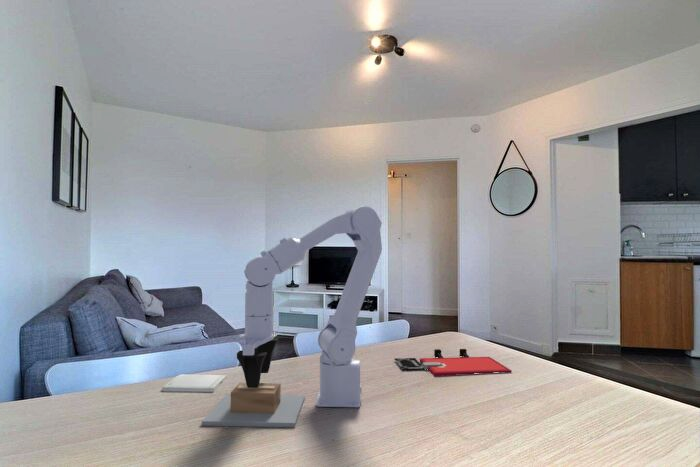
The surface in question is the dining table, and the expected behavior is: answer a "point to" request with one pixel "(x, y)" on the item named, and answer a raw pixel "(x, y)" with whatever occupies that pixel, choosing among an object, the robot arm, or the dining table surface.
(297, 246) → the robot arm
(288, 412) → the rubber mat
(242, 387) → the taped cardboard box
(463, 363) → the red board with handle
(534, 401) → the dining table surface
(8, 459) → the dining table surface
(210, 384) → the hard drive
